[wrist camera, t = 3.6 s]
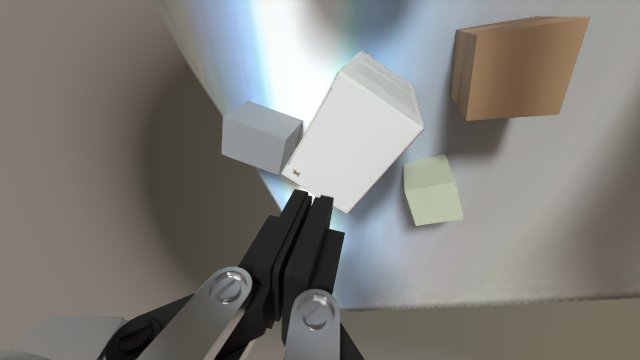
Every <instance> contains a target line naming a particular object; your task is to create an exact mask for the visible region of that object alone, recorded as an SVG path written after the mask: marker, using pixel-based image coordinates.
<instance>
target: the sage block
mask: <svg viewBox="0 0 640 360" xmlns="http://www.w3.org/2000/svg"><path fill="white" fill-rule="evenodd" d="M403 169H404V188H405V194H406V197H407V200H408V203H409V206H410V209H411V212H412V215H413V218H414V221H415V224H416V226H419V225H426V224H433V223H440V222H446V221H453V220H460V219H464V217H463V213H462V209H461V204H460V200H459V195H458V191H457V186H456V182H455V179H454V176H453V173H452V170H451V168H450V165H449V162H448V159H447V156H446V154H443V155H439V156H435V157H431V158H427V159H423V160H419V161H415V162H410V163H406V164H403Z"/></svg>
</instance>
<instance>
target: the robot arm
mask: <svg viewBox="0 0 640 360" xmlns="http://www.w3.org/2000/svg"><path fill="white" fill-rule="evenodd" d="M333 201H334V197H329V196H325V195H321V196H320V198H318V197H315V199H314V201H313V204H312V196H308V192H306V191H301V190H297V189H295V190H294V191H293V193H292V195H291V197H290V198H289V200H288V202H287V204H286V206H285V207H284V209H283V211H282V213H281V215H280V216H279V217H276V216H272V215H270V216H269V217H268V218H267V220H266V221H265V223H264V225H263V226H262V228H261V230H260V231H259V233H258V235H257V236H256V238H255V240H254V241H253V243H252V244H251V246H250V248H249V249H248V251H247V253H246V254H245V256H244V257H243V259H242V261H241V262H240V264H239V266H238V267H227V268H224V269H221V270H219V271H217V272H215V273H214V274H213V275H212V276H211V277H210V278H209V279H208V280H207V281H206V282H205V283H204V284H203V285H202V287H201V288H200V289H199V290H198V291H197V292H196V293H194V294H191V295H189V296H186V297H184V298H182V299H179V300H177V301H174V302H172V303H170V304H167V305H165V306H162V307H160V308H157V309H155V310H152V311H150V312H148V313H145V314H143V315H140V316H138V317H136V318H134V319H132V320H125V319H124V318H123V317H99V316H70V315H61V316H54V317H51V318H48V319H46V320H43V321H41V322H40V323H38V324H36V325H35V326H33V327H32V328H31V329H29V330H28V331H27V332H26V333H25V334H24V335H23V336H22V337H21V338H20V339H19V340H18V341H17V342H16V344H15V345H14V346H13V347H12V348H11V349H4V348H0V360H245V359H246V357H247V355H248V353H249V352H250V350H251V348H252V346H253V345H254V342H255V340H256V338H258V337H260V336H262V335H263V334H264V333H265V331H266V328H270V329H272V326H273V323H274V321H279V320H280V319H281V316H282V341H283V343H284V346H285V351H284V357H283V360H364V358H363V357H362V355H361V354H360V352H359V350H358V349H357V347H356V346H355V344H354V343H353V341H352V340H351V338H350V336H349V335H348V333H347V332H346V330H345V329H344V327H343V326H342V324H341V322H340V309H339V305H338V303H337V301H336V300H335V298H334V297H333V296H332V292H333V288H334V283H335V278H336V273H337V268H338V264H339V259H340V254H341V249H342V244H343V240H344V235H345V233H344V232H340V231H336V230H331V229H329V227H330V220H331V214H332V208H333ZM311 204H312V206H311Z"/></svg>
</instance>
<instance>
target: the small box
mask: <svg viewBox="0 0 640 360" xmlns="http://www.w3.org/2000/svg"><path fill="white" fill-rule="evenodd" d="M423 130H424V124H423V120H422V117H421V113H420V110H419V106H418V102H417V99H416V95H415V91H414V88H413V85H412V84H410V83H409V82H408V81H406V80H405V79H403V78H402V77H401V76H399V75H398V74H396V73H395V72H393V71H392V70H390V69H389V68H388V67H386V66H385V65H383V64H382V63H380V62H379V61H377V60H376V59H374V58H373V57H372V56H370V55H368V54H367V53H365V52H364V51H362V50H360V51H359V52H358V53H357V54H356V55H355V56H354V57H353V58H352V59H351V60H350V61H349V62H348V63H346V64H345V65H344V66H343V67H342V68H341V69H340V70H339V71H338V72H337V74H336V76H335V78H334V80H333V82H332V84H331V86H330V88H329V90H328V92H327V94H326V96H325V98H324V100H323V102H322V103H321V105H320V107H319V109H318V111H317V112H316V114H315V116H314V118H313V120H312V121H311V123H310V125H309V127H308V128H307V130H306V132H305V134H304V136H303V137H302V139H301V141H300V143H299V144H298V146H297V148H296V150H295V151H294V153H293V155H292V156H291V158H290V159H289V161H288V163H287V164H286V166H285V167H284V169H283V170H282V172H281V174H282V175H284V176H285V177H287V178H289V179H290V180H292V181H293V182H295V183H297V184H298V185H300V186H301V187H303V188H305V189H306V190H308V191H310V192H311V193H313V194H315V195H316V196H318V197H319V198H320V196H321V195H325V196H329V197H334V201H333V206H334V207H336V208H337V209H339V210H341V211H343V212H344V213H346V214H348V213H349V212H350V211H351V210H352V209H353V208H354V207H355V206H356V204H357V203H358V202H359V201H360V200H361V199H362V198H363V197H364V195H365V194H366V193H367V192H368V191H369V190H370V189H371V188H372V187H373V185H374V184H375V183H376V182H377V181H378V180H379V179H380V178H381V176H382V175H383V174H384V173H385V172H386V171H387V170H388V169H389V168H390V166H391V165H392V164H393V163H394V162H395V161H396V160H397V159H398V158H399V156H400V155H401V154H402V153H403V152H404V151H405V150H406V149H407V148H408V146H409V145H410V144H411V143H412V142H413V141H414V140H415V139H416V138H417V136H418V135H419V134H420V133H421V132H422V131H423Z"/></svg>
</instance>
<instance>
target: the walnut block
mask: <svg viewBox="0 0 640 360" xmlns="http://www.w3.org/2000/svg"><path fill="white" fill-rule="evenodd" d="M589 19H590V17H538V16H536V17H530V18H524V19H518V20H512V21H506V22H500V23H494V24H488V25H482V26H476V27H470V28H464V29H458V30H456V39H455V50H454V60H453V70H452V81H451V91H450V98H451V99H452V101H453V102H454V104H455V105H456V107H457V108H458V110H459V111H460V113H461V114H462V116H463V117H464V119H465V120H466V121H472V120H486V119H500V118H514V117H528V116H542V115H556V114H559V112H560V109H561V106H562V103H563V100H564V97H565V94H566V91H567V87H568V84H569V81H570V78H571V75H572V72H573V69H574V66H575V63H576V60H577V56H578V53H579V50H580V47H581V44H582V41H583V38H584V35H585V32H586V29H587V26H588V22H589Z"/></svg>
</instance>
